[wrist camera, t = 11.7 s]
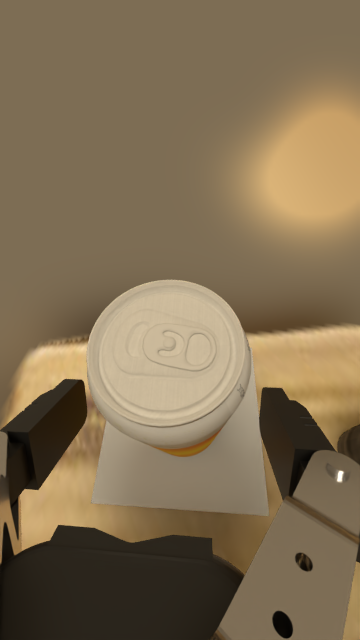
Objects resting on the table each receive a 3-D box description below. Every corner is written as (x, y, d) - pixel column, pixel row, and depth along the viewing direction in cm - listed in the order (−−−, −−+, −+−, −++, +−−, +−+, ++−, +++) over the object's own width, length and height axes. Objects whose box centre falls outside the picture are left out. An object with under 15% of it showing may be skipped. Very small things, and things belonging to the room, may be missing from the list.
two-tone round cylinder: (158, 375, 23) (111, 262, 10) (223, 389, 22) (263, 282, 9) (139, 447, 20) (40, 415, 7) (213, 465, 19) (251, 466, 6)
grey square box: (243, 365, 28) (251, 347, 24) (254, 506, 22) (269, 516, 18) (131, 362, 29) (120, 344, 25) (110, 496, 23) (90, 503, 18)
